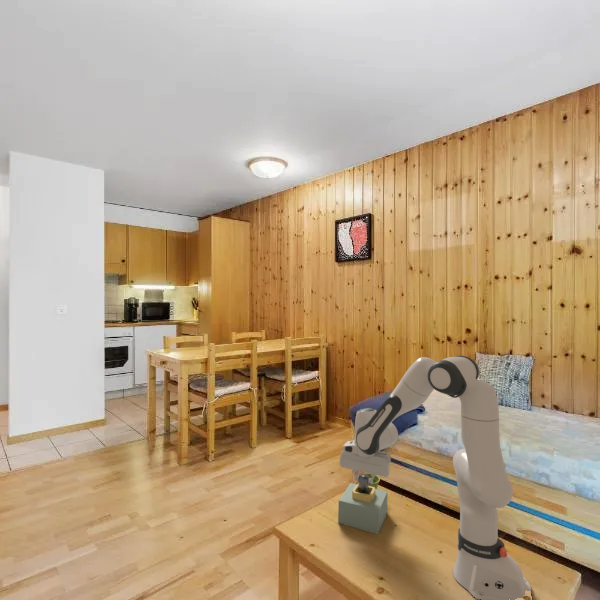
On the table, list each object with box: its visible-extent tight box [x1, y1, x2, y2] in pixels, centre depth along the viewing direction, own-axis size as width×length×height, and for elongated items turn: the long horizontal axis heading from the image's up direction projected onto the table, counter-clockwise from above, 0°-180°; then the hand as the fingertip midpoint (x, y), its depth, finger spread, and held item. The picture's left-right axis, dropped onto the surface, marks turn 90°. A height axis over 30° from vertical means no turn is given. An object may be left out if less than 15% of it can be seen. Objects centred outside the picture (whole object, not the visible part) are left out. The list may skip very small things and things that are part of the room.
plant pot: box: [363, 472, 381, 489], centre depth 174 cm, size 9×9×9 cm
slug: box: [358, 473, 369, 493], centre depth 157 cm, size 4×4×6 cm
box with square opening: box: [337, 482, 389, 535], centre depth 158 cm, size 16×16×12 cm
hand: (363, 481), depth 157 cm, fingers closed on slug, 4 cm apart
